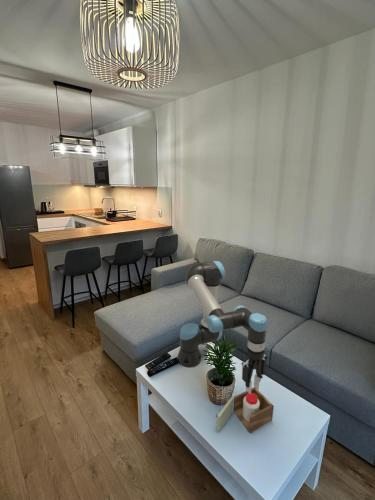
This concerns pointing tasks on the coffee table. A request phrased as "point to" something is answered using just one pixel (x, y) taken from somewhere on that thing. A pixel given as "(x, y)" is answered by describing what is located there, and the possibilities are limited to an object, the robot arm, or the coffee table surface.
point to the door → (224, 414)
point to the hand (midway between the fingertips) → (252, 389)
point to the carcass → (257, 418)
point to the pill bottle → (250, 406)
